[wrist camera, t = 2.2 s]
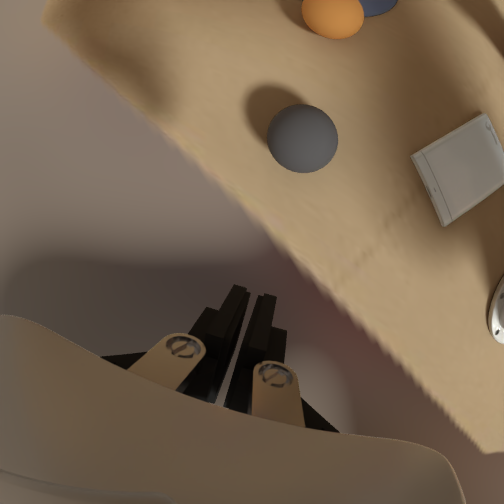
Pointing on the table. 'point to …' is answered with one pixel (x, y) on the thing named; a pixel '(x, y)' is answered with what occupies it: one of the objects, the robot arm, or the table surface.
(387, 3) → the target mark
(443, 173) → the hard drive
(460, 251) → the table surface
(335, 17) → the object ball
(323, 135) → the gray ball
